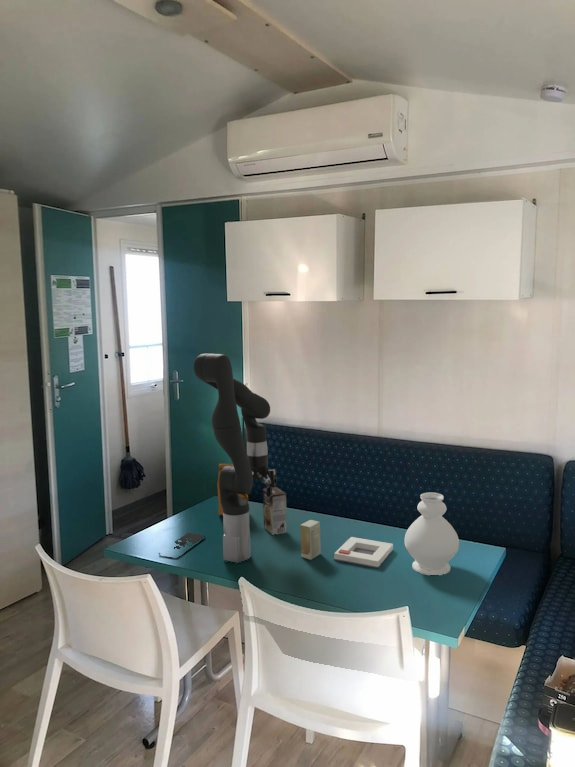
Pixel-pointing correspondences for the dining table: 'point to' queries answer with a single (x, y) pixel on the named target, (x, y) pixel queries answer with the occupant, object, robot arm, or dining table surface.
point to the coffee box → (275, 511)
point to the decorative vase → (431, 537)
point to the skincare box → (310, 539)
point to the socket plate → (363, 552)
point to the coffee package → (219, 490)
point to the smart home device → (189, 535)
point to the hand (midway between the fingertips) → (259, 495)
